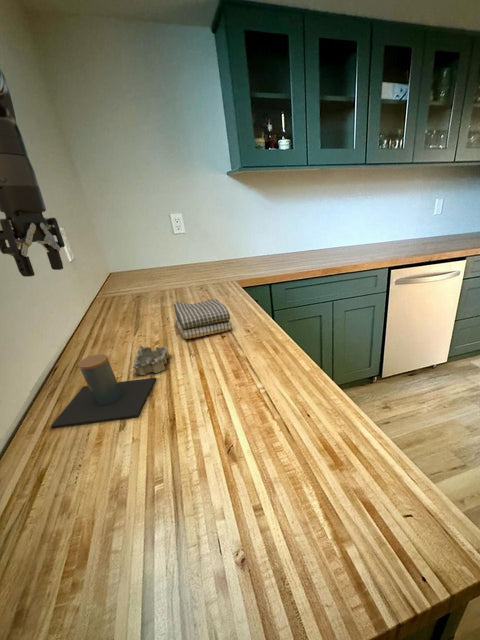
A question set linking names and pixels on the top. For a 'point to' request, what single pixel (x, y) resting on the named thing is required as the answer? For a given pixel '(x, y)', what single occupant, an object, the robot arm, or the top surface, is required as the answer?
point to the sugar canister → (100, 379)
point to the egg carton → (150, 360)
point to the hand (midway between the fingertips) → (44, 272)
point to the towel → (201, 318)
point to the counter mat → (90, 412)
